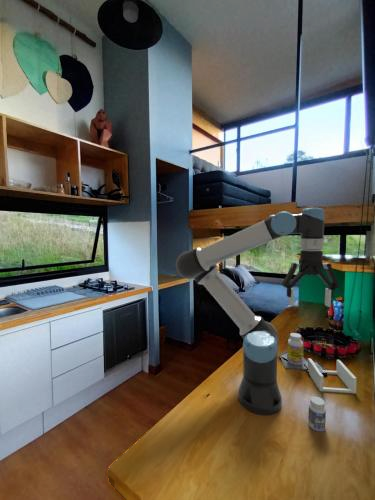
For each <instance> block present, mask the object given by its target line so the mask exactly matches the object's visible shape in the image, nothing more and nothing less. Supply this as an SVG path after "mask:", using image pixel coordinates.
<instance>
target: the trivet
mask: <svg viewBox="0 0 375 500" xmlns="http://www.w3.org/2000/svg"><path fill="white" fill-rule="evenodd" d="M282 355H283V354H281V355H280V354H279V356H278V357H279V359H280V358H281V359H280V361H281V362H282V363H281V364H282V365H283V367H284V369H285V370H295V371H296V370H297V371H298V370H299V371H300V370H301V371H308V370H307V368H306V367H305V366H304V362H307V360H306V359H305V357H304V356H303V363H302V364H301V365H294V364H291V363H290V362H288V361H286V360H284V359H283V358H282V357H281V356H282Z"/></svg>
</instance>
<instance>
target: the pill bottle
mask: <svg viewBox="0 0 375 500" xmlns="http://www.w3.org/2000/svg"><path fill="white" fill-rule="evenodd" d="M309 401H310V402H309V403H308V417H307V418H308V426H309V427H310V428H311V429H312V430H314V431H316V432H317V431H318V432H323V431H325V430H326V418H327V417H326V415H327V414H326V413H327V410H326V407H325V406H326V404H325V401H324V399H323V398H321V397H320V396H319V397H318V396H311V397H310V399H309Z"/></svg>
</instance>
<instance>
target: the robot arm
mask: <svg viewBox="0 0 375 500" xmlns="http://www.w3.org/2000/svg"><path fill="white" fill-rule="evenodd" d="M325 222H326V220H325V210H324V209H323V208H322V207H309V208H303V209H302V210H301V213H297V214H293V213H292V212H288V211H285V210H284V211H279V212H277V213H275V214H270V215H269V216H268V217H267V218H266V219H264V220H261V221H259V222H257V223H255V224H253V225H251V226H248V227H246V228H243V229H242V230H239V231H237V232H235V233H233V234H231V235H228V236H227V237H224V238H222V239H220V240H218V241H215V242H214V243H211V244H210V245H207V246H204V247H203V248H201V247H198V246H197V247H196V248H194V249H192V250H187V251H184V252H182V253H181V254H180V255H178V257H177V259H176V262H175V268H176V271H177V273H178V274H179V276H180V277H182V278H183V279H187V280H191V279H193V281H195V282H196V284H198V285H201V286H202V285H203V287H204V288H205V289H206V290H207V291H208V292H209V294H210V295H211V296H212V297H213V298H214V299H215V301H216V302H217V303H218V304H219V306H220V307H221V308H222V309H223V310H224V311H225V313H226V314H227V316H229V318H230V319H231V320H232V321H233V323H234V324H235V325H236V326H237V327H238V328H239V335H240V336H241V338H242V339H243V343H242V349H243V352H242V354H243V356H242V357H243V358H242V359H243V362H242V364H243V366H242V367H243V369H242V374H243V377H242V378H241V381H240V385H239V388H238V392H237V393H238V394H237V395H238V397H237V398H238V401H239V403H240V404H241V405H242V406H243V408H245V409H246V410H248V411H250V412H251V413H254V414H256V415H264V416H265V415H266V416H269V415H273V414H276V413H278V412H279V411H280V410H281V408H282V405H283V403H282V395H281V391H280V389H279V386H278V381H277V379H278V378H277V377H278V374H277V373H278V372H277V371H278V348H279V340H280V339H279V334H278V332H277V330H276V328H275V327H274V326H273V324H272V323H270V322H268V321H265V319H264V318H263V317H262V316H260V315H256V314H255V313H254V312H253V311H252V310H251V309H250V307H249V306H248V305H247V304H246V303H245V302H244V300H243V299H242V298H241V297H240V296H239V294H238V293H236V291H235V290H234V289H233V288H232V287H231V286H230V284H229V283H228V282H227V281H226V280H225V279H224V277H223V276H222V275H221V274H220V272H219V266H218V265H217V264H219V263H222V262H224V261H227V260H229V259H232V258H233V257H236V256H239V255H240V254H243V253H245V252H247V251H250V250H253V249H255V248H257V247H260V246H262V245H264V244H267V243H269V242H271V241H274V240H277V239H280V238H281V237H283V236H287V235H300V249H301V250H300V251H299V252H300V253H299V255H300V256H299V260H300V261H299V263H297V262H291V263H290V269H289V270H288V272H287V274H286V276H285V277H284V278H283V281H282V283H281V286H282V287H284V288H286V296H287V298H288V305H289V306H290V307H294V298H295V297H294V296H295V291H294V290H295V289H294V288H293V287H295V286H296V284H298V283H299V281H300V280H301V279H302V278H303V277H304V276H305V275H306V276H311V275H312V276H318V277H319V278H320V280H321V281H322V282H323V284H324V285H325V286H326V287H325V290H324V291H325V293H324V306H326V307H328V308H331V303H332V299H333V298H334V291H335V290H336V289H339V288H340V284H339V282H338V279H337V278H336V276H335V274H334V273H335V272H334V271H333V268H332V263H330V262H325V263H323V259H324V257H323V256H324V255H323V254H324V251H323V249H324V236H325V235H324V234H325V233H324V232H325ZM298 268H299V270H298V271H297V269H298ZM322 269H325V272H326V274H327V276H326V275H325V273H324V272H323V271H322ZM296 271H297V273H296ZM295 273H296V274H295ZM293 276H294V277H293ZM327 277H328V278H329V279H328V278H327Z"/></svg>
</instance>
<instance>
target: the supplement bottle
mask: <svg viewBox="0 0 375 500" xmlns="http://www.w3.org/2000/svg"><path fill="white" fill-rule="evenodd" d="M289 334H290V335H289V338H288V339H287V353H286V355H287V360H288V362H290V363H291V364H294V365H301V364H302V363H303V357H304V342H303V340H302V335H301V334H300V333H297V332H291V333H289Z"/></svg>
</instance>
